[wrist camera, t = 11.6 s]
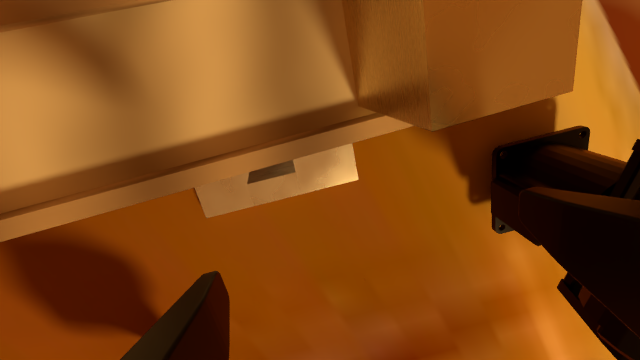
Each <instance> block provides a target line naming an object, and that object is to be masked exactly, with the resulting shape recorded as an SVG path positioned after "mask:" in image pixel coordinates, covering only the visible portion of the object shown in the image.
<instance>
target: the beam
mask: <svg viewBox="0 0 640 360" xmlns="http://www.w3.org/2000/svg"><path fill="white" fill-rule="evenodd" d="M411 126H415V125H412V124H409V123H406V122H403V121H400V120H397V119H394V118H391V117H388V116H385V115H382V114H379V113H376V112H374V111H371V110H368V109H365V108H362V107H359V106H358V101H357V95H356V89H355V82H354V76H353V69H352V63H351V57H350V50H349V44H348V38H347V31H346V25H345V18H344V12H343V6H342V0H0V242H2V241H6V240H9V239H13V238H17V237H20V236H24V235H27V234H31V233H34V232H38V231H41V230H45V229H48V228H52V227H56V226H59V225H63V224H66V223H70V222H73V221H77V220H80V219H84V218H88V217H91V216H95V215H98V214H102V213H105V212H109V211H112V210H116V209H120V208H123V207H127V206H130V205H134V204H137V203H141V202H144V201H148V200H152V199H155V198H159V197H162V196H166V195H169V194H173V193H176V192H180V191H184V190H187V189H191V188H194V187H198V186H201V185H205V184H208V183H212V182H216V181H219V180H223V179H226V178H230V177H233V176H237V175H240V174H244V173H248V172H251V171H255V170H258V169H262V168H265V167H269V166H272V165H276V164H280V163H283V162H287V161H290V160H294V159H297V158H301V157H304V156H308V155H312V154H315V153H319V152H322V151H326V150H329V149H333V148H336V147H340V146H344V145H347V144H351V143H354V142H358V141H361V140H365V139H368V138H372V137H376V136H379V135H383V134H386V133H390V132H393V131H397V130H400V129H404V128H407V127H411Z"/></svg>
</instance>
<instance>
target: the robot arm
mask: <svg viewBox="0 0 640 360" xmlns="http://www.w3.org/2000/svg"><path fill="white" fill-rule="evenodd" d="M580 133H581V134H580ZM589 137H590V129H589V128H588V127H585V126H575V127H571V128H568V129H564V130H560V131H556V132H552V133H548V134H544V135H540V136H536V137H532V138H528V139H524V140H520V141H516V142H512V143H508V144H504V145H501V146H498V147H496V148H495V149H494V151H493V153H492V182H491V213H492V229H493V230H494V231H495V232H497V233H499V234H502V233H506V232H510V231H513V230H515V231H517V232H518V233H519V234H521V235H522V236H524V237H525V238H526V239H528V240H529V241H531V242H532V243H533V244H535V245H537V246H540V245H542V246H543V247H544V248H545V249H546V250H547V252H548V253H549V254H550V255H551V256H552V257H553V258H554V259H555V260H556V261H557V262H558V263H559V264H560V265H561V266H562V267H563V268H564V269H565V270H566V271H567V274H566V276H565V278H564V279H561V281H560V282H559V284H558V286H557V289H558V290H559V291H560V292H561V294H562V295H563V296H564V297H565V298H566V300H567V301H568V302H569V303H570V305H571V306H572V307H573V308H574V309H575V311H576V312H577V313H578V314H579V316H580V317H581V318H582V319H583V320H584V322H585V323H586V324H587V325H588V327H589V328H590V329H591V330H592V331H593V333H594V334H595V335H596V336H597V338H598V339H599V340H600V341H601V343H602V344H603V345H604V346H605V347H606V348H607V349H608V350H609V351H610V352H611V353H612V355H613V356H614V357H615V358H616V359H617V360H640V139H637V140H636V142H635V144H634V146H633V148H632V150H634V151H633V153H632V155H631V156H630V158H629V160H628V162H624V161H621V160H618V159H614V158H611V157H608V156H604V155H601V154H598V153H594V152H591V151H588V144H589ZM501 152H503V154H502V155H501V156H500V154H501ZM500 225H501V226H500ZM499 226H500V227H499ZM120 360H229V295H228V292H227V289H226V287H225V285H224V282H223V280H222V277H221V275H220V273H219V272H218V271H213V272H209V273H206V274H203V275H202V276H201V277H200V278H199V279H198V280H197V281H196V282H195V283H194V284H193V285H192V286H191V287H190V288H189V289H188V290H187V291H186V292H185V293H184V294H183V295H182V296H181V297H180V298H179V299H178V300H177V301H176V302H175V304H174V305H173V306H172V307H171V308H170V309H169V310H168V311H167V312H166V313H165V314H164V315H163V316H162V317H161V318H160V319H159V320H158V321H157V322H156V323H155V324H154V325H153V326H152V327H151V328H150V329H149V330H148V331H147V332H146V333H145V334H144V335H143V337H142V338H141V339H140V340H139V341H138V342H137V343H136V344H135V345H134V346H133V347H132V348H131V349H130V350H129V351H128V352H127V353H126V354H125V355H124V356H123V357H122V358H121V359H120Z"/></svg>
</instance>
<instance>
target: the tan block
mask: <svg viewBox="0 0 640 360" xmlns="http://www.w3.org/2000/svg"><path fill="white" fill-rule="evenodd" d="M342 6H343V12H344V18H345V25H346V31H347V38H348V44H349V50H350V57H351V63H352V69H353V76H354V82H355V89H356V95H357V101H358V106H359V107H362V108H365V109H368V110H371V111H374V112H376V113H379V114H382V115H385V116H388V117H391V118H394V119H397V120H400V121H403V122H406V123H409V124H412V125H415V126H418V127H421V128H423V129H426V130H429V131H435V130H439V129H442V128H446V127H449V126H453V125H456V124H460V123H463V122H467V121H470V120H474V119H477V118H481V117H484V116H488V115H491V114H495V113H498V112H502V111H505V110H509V109H512V108H516V107H519V106H523V105H526V104H530V103H533V102H537V101H540V100H544V99H547V98H551V97H554V96H557V95H561V94H564V93H568V92H571V91H573V84H574V74H575V64H576V55H577V45H578V35H579V25H580V16H581V6H582V0H342Z"/></svg>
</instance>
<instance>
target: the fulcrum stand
mask: <svg viewBox="0 0 640 360" xmlns="http://www.w3.org/2000/svg"><path fill="white" fill-rule="evenodd" d="M355 180H358V175H357V169H356V163H355V157H354V152H353V146H352V143H351V144H347V145H344V146H340V147H336V148H333V149H329V150H326V151H322V152H319V153H315V154H312V155H308V156H304V157H301V158H297V159H294V160H290V161H287V162H283V163H280V164H276V165H272V166H269V167H265V168H262V169H258V170H255V171H251V172H248V173H244V174H240V175H237V176H233V177H230V178H226V179H223V180H219V181H216V182H212V183H208V184H205V185H201V186H198V187H194V188H195V190H196V193H197V196H198V198H199V201H200V203H201V206H202V208H203V211H204V213H205V216H206V218H209V217H213V216H217V215H221V214H225V213H229V212H233V211H237V210H240V209H244V208H248V207H252V206H256V205H260V204H264V203H268V202H272V201H276V200H280V199H284V198H288V197H292V196H296V195H300V194H304V193H308V192H312V191H315V190H319V189H323V188H327V187H331V186H335V185H339V184H343V183H347V182H351V181H355Z"/></svg>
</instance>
